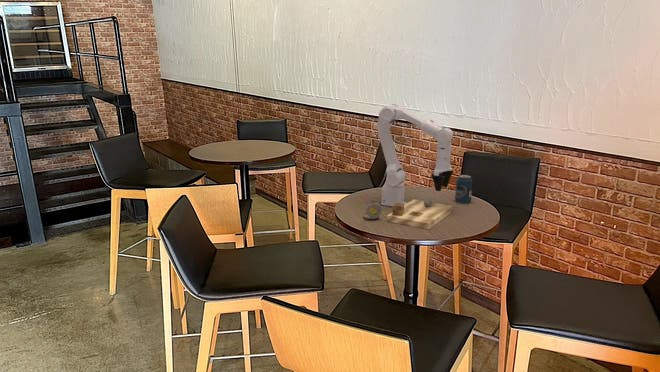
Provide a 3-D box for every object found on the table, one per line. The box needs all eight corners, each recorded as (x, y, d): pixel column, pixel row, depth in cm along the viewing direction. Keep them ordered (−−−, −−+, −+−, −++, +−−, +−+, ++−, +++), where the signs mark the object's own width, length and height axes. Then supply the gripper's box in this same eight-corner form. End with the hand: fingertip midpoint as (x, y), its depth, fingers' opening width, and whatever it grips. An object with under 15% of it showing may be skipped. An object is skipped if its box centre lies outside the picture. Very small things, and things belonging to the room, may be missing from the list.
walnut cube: (392, 215, 203) (392, 205, 202) (394, 212, 207) (394, 202, 206) (402, 216, 202) (402, 206, 201) (403, 212, 205) (404, 203, 204)
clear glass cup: (370, 213, 213) (370, 191, 210) (385, 218, 207) (386, 195, 204) (357, 218, 207) (357, 195, 204) (372, 223, 201) (373, 199, 199)
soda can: (452, 202, 228) (453, 176, 224) (459, 198, 233) (461, 173, 229) (466, 204, 223) (468, 178, 220) (473, 201, 228) (475, 175, 225)
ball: (422, 206, 213) (422, 198, 212) (425, 204, 216) (425, 196, 215) (429, 207, 212) (430, 199, 211) (432, 205, 214) (433, 197, 213)
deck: (386, 221, 203) (387, 215, 203) (413, 204, 224) (413, 199, 223) (428, 229, 194) (428, 223, 193) (452, 211, 215) (452, 205, 214)
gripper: (446, 161, 202) (444, 194, 205) (458, 155, 213) (456, 186, 217) (429, 159, 205) (427, 191, 209) (443, 153, 217) (441, 183, 221)
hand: (441, 188), depth 213 cm, fingers open, 7 cm apart
